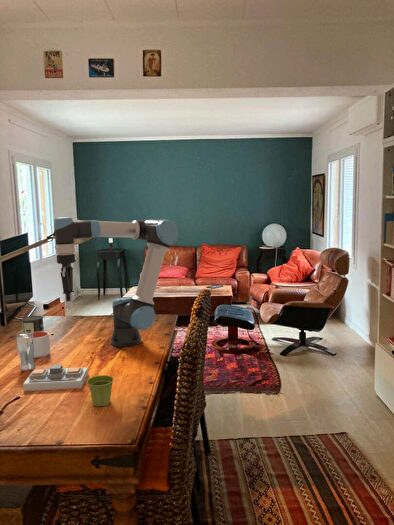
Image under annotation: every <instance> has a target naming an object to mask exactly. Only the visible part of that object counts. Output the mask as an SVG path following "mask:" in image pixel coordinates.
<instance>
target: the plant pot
mask: <svg viewBox="0 0 394 525" xmlns="http://www.w3.org/2000/svg"><path fill="white" fill-rule="evenodd" d="M114 381H115V378H114V377H113V376H111V375H105V374H100V375H95V376H92V377H89V378H88V379H87V381H86V384H87V386H88V388H89V391H90V397H91V401H92V405H93V406H94V407H105V406H108V405H109V404H110V403H111V400H112V399H111V398H112V389H113V388H112V386H113V382H114Z"/></svg>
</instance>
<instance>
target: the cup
mask: <svg viewBox="0 0 394 525" xmlns="http://www.w3.org/2000/svg"><path fill="white" fill-rule="evenodd" d="M31 334H33V338H34V359H39V358H44V357H46V356H49V354H50V352H51V345H50V344H51V343H50V334H49V332H47V331H44V332H35V333H31Z"/></svg>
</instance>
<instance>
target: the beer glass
mask: <svg viewBox="0 0 394 525" xmlns="http://www.w3.org/2000/svg"><path fill="white" fill-rule="evenodd" d="M16 346H17V353H18V356H19V359H20V371H22V372H28V371H32V370H35V368H36V364H35V360H34V359H35V358H34V338H33V334H31V333H25V334H23V333H21V334H18V335H16Z"/></svg>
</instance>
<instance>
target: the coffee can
mask: <svg viewBox="0 0 394 525" xmlns="http://www.w3.org/2000/svg"><path fill="white" fill-rule="evenodd" d="M21 324H22V334H25V333H35V332H45V328H44V317H43V316H42V315H28V316H25V317H22V318H21Z"/></svg>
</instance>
